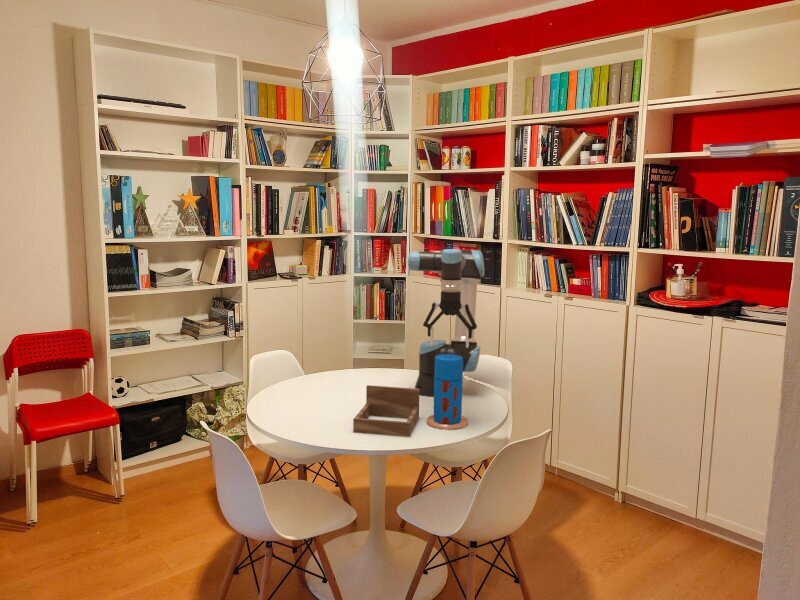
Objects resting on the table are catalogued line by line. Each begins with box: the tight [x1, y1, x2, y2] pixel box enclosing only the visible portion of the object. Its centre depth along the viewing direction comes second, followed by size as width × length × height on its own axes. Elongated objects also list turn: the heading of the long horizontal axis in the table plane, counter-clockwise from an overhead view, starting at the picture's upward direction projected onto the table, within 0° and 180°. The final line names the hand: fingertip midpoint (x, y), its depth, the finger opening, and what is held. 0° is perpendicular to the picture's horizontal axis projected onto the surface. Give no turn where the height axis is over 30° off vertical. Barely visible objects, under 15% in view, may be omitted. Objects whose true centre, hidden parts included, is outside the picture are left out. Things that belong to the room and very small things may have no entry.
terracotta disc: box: [426, 414, 469, 430], centre depth 248 cm, size 16×16×1 cm
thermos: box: [433, 354, 464, 425], centre depth 247 cm, size 11×11×25 cm
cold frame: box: [352, 384, 420, 438], centre depth 244 cm, size 21×21×12 cm
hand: (449, 345), depth 244 cm, fingers open, 13 cm apart
